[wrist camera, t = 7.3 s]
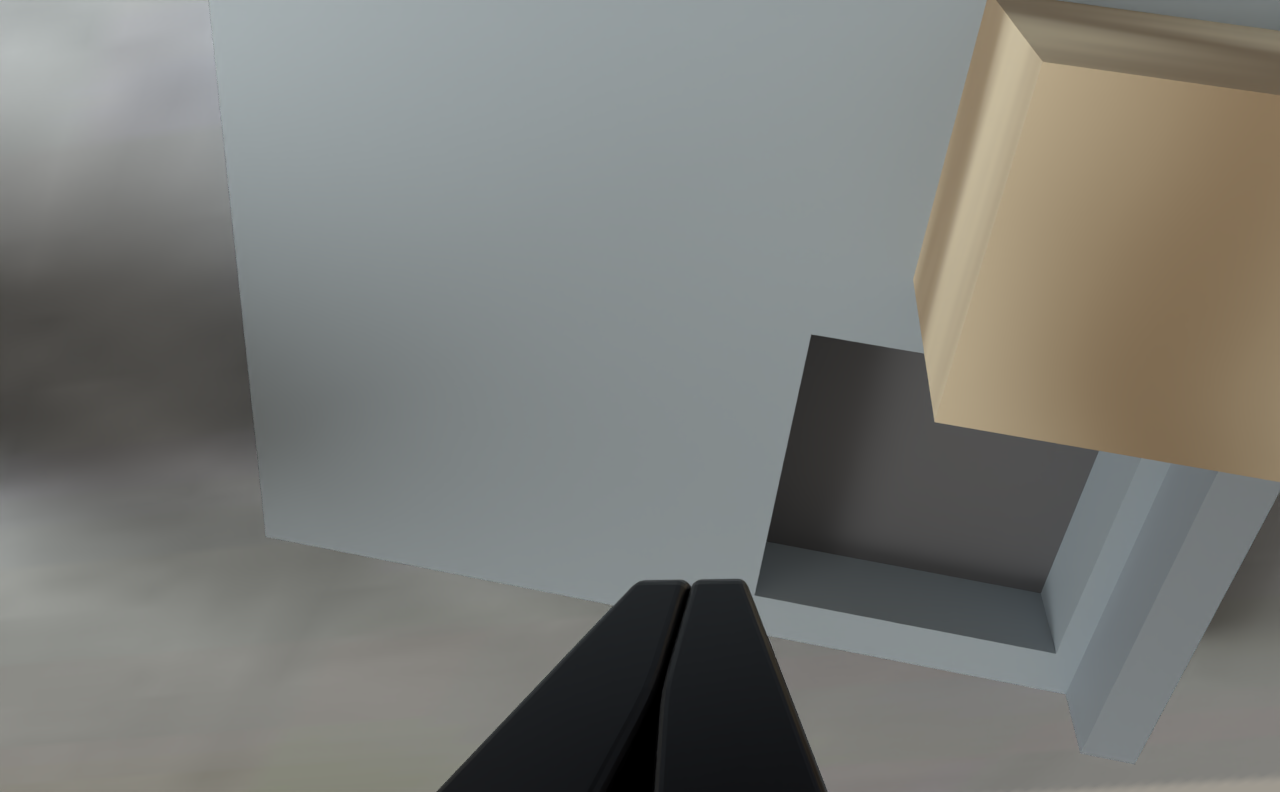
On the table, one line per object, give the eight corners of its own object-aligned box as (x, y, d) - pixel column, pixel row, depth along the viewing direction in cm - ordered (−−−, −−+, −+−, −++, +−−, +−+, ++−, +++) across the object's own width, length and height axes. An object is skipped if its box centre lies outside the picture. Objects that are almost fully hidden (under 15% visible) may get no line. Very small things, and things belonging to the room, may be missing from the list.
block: (912, 279, 17) (934, 421, 13) (988, -10, 15) (1042, 61, 11) (1194, 325, 17) (1302, 486, 13) (1319, 35, 14) (1498, 126, 10)
